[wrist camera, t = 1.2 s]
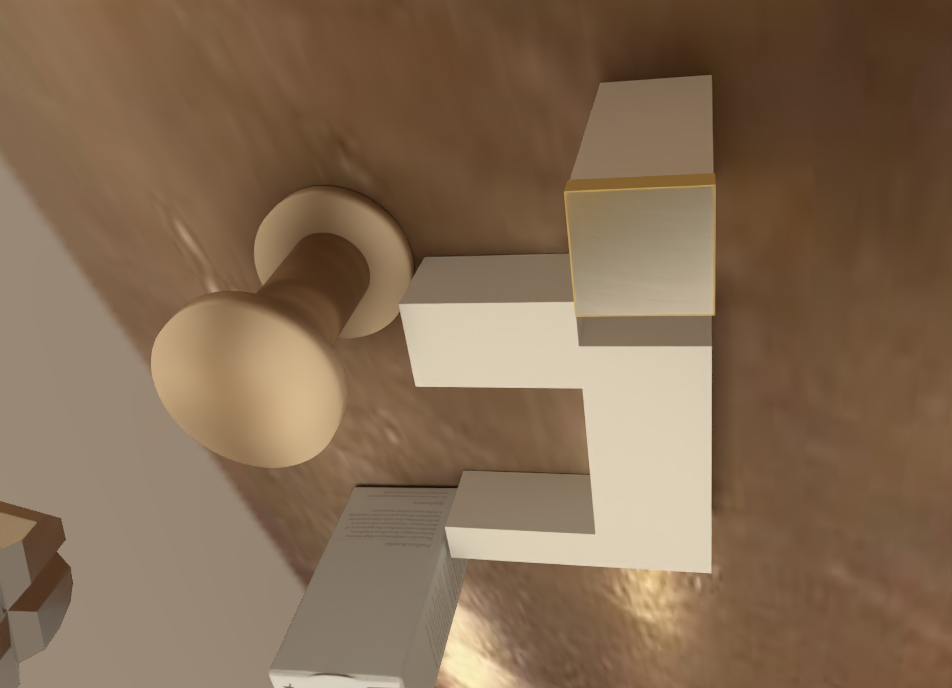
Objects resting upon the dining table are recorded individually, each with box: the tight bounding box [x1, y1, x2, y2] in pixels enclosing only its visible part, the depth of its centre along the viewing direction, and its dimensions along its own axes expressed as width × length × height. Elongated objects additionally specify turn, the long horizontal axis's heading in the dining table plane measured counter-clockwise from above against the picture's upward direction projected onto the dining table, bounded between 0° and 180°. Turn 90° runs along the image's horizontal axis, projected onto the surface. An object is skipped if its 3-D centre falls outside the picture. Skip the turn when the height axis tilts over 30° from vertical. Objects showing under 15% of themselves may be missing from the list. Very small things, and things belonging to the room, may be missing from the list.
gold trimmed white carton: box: [564, 75, 716, 317], centre depth 30 cm, size 4×4×10 cm
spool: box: [151, 186, 414, 468], centre depth 36 cm, size 7×7×10 cm
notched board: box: [399, 253, 712, 573], centre depth 40 cm, size 12×14×4 cm
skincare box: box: [269, 487, 469, 688], centre depth 43 cm, size 6×4×12 cm
